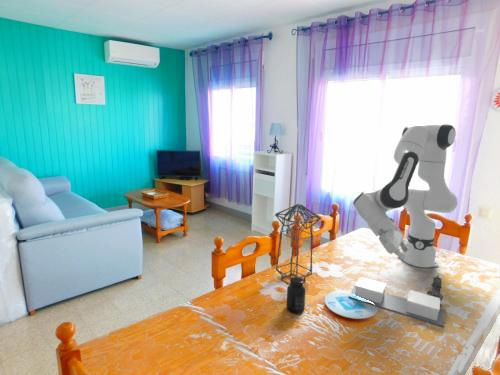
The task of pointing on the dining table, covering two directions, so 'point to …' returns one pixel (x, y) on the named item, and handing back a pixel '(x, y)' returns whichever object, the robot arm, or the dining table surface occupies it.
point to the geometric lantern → (297, 236)
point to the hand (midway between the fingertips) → (405, 254)
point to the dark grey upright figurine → (436, 288)
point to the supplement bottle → (296, 296)
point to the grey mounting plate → (401, 301)
